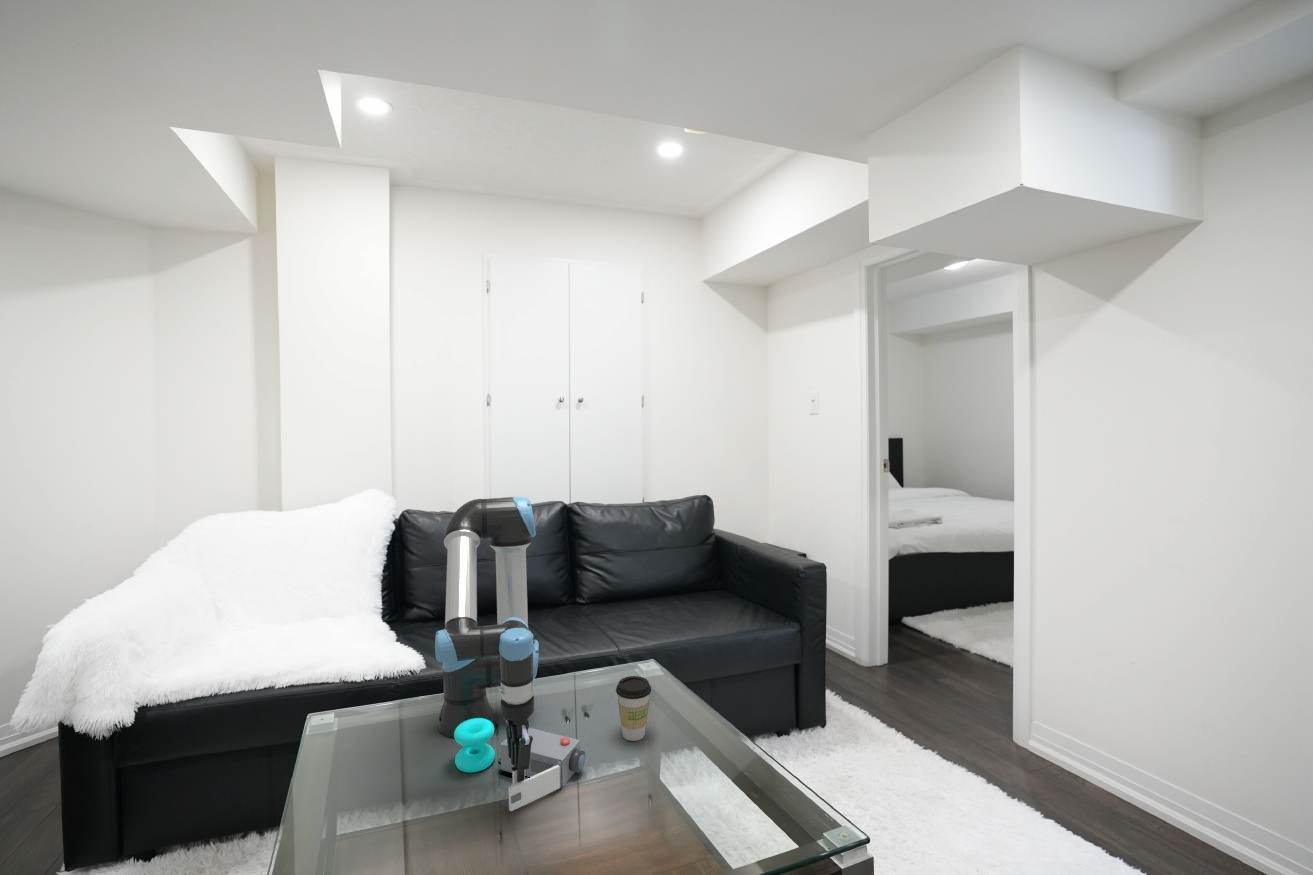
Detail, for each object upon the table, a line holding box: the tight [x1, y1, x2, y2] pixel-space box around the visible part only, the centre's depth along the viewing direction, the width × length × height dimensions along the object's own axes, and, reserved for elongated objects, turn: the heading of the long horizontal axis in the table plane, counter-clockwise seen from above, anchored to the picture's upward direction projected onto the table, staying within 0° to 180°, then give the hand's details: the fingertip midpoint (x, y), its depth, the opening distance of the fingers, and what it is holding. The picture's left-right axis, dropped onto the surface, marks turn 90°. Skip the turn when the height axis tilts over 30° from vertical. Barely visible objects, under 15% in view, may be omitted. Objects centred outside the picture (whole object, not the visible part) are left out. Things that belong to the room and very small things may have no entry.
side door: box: [508, 761, 562, 812], centre depth 150 cm, size 14×2×6 cm, turn 129°
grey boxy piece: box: [499, 727, 586, 788], centre depth 162 cm, size 20×9×8 cm, turn 68°
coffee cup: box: [615, 675, 652, 742], centre depth 177 cm, size 10×10×15 cm
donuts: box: [453, 718, 496, 773], centre depth 164 cm, size 10×10×10 cm
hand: (519, 791), depth 149 cm, fingers closed
